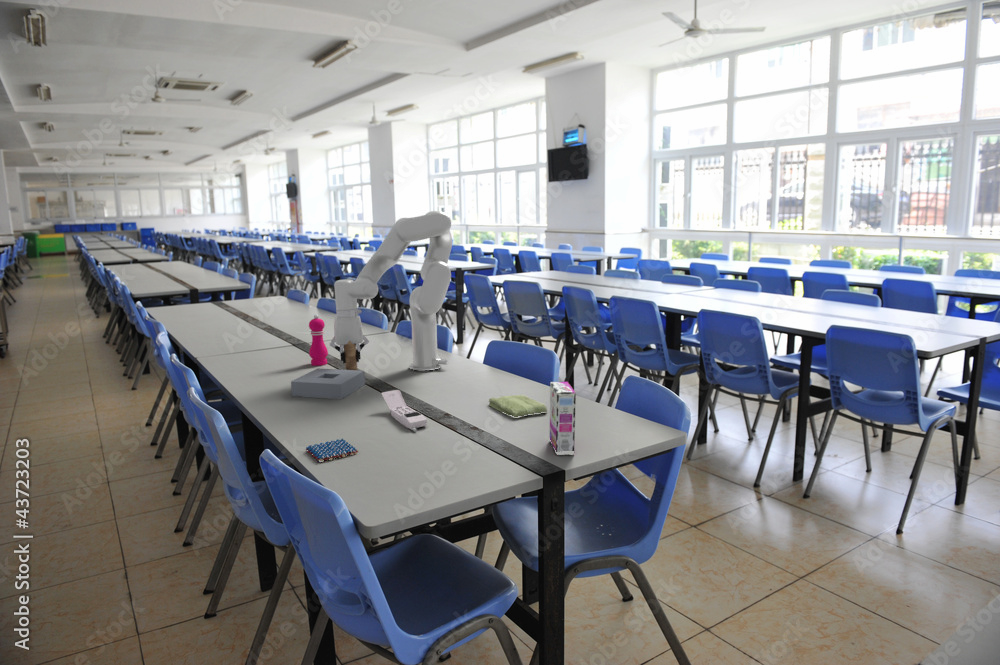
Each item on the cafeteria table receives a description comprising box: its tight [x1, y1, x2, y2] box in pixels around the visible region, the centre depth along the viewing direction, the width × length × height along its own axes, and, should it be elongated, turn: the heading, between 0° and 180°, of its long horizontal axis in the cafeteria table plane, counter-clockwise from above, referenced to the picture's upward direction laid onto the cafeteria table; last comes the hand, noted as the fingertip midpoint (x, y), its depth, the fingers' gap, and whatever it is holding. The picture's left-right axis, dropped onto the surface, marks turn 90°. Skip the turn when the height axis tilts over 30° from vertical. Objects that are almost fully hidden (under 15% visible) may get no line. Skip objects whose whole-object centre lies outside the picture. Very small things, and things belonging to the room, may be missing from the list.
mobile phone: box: [381, 389, 428, 433], centre depth 193 cm, size 6×6×25 cm
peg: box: [343, 341, 359, 370], centre depth 243 cm, size 4×4×14 cm
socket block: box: [290, 368, 366, 400], centre depth 224 cm, size 18×18×5 cm
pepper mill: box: [308, 314, 329, 367], centre depth 260 cm, size 7×7×20 cm
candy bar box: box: [549, 381, 577, 452], centre depth 168 cm, size 11×5×16 cm, turn 5°
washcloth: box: [488, 394, 548, 417], centre depth 202 cm, size 13×18×3 cm
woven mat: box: [305, 438, 359, 462], centre depth 168 cm, size 10×11×2 cm
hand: (350, 361), depth 243 cm, fingers closed on peg, 4 cm apart
